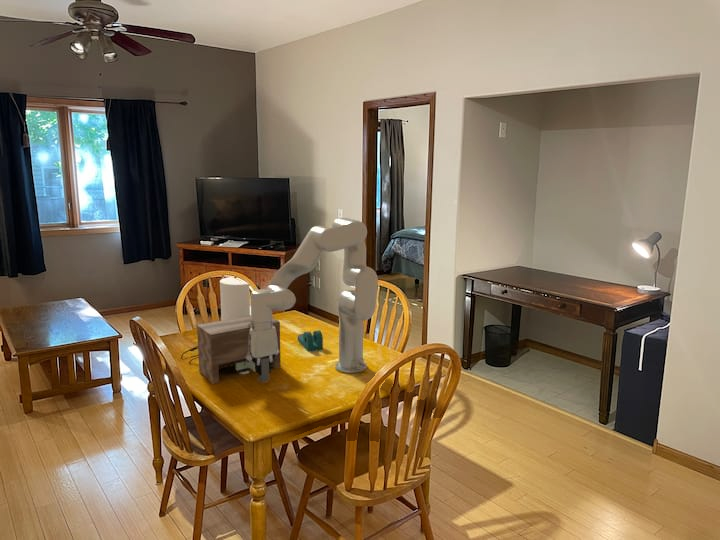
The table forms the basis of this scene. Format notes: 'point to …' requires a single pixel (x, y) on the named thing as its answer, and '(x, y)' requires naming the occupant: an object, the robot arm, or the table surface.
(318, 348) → the bracket
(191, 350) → the sunglasses
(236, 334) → the cabinet
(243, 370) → the token
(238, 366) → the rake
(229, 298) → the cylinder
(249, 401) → the table surface
